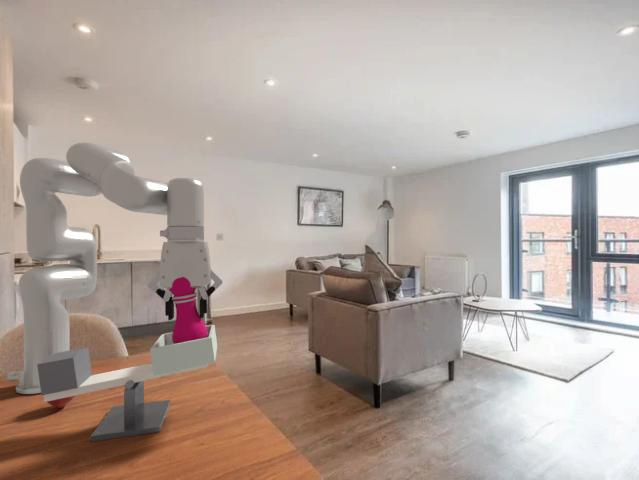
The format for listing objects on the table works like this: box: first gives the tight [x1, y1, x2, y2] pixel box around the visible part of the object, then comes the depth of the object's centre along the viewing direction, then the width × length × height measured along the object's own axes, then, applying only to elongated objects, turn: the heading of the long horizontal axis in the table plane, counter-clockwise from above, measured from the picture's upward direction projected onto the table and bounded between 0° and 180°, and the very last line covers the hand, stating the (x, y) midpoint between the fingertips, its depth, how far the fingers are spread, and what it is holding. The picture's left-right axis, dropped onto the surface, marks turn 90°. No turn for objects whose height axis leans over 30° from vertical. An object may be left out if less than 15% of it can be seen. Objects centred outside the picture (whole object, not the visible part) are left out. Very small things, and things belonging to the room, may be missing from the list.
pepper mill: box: [169, 277, 208, 344], centre depth 73 cm, size 7×7×20 cm
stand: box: [90, 381, 171, 442], centre depth 71 cm, size 12×12×8 cm
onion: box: [46, 395, 76, 409], centre depth 77 cm, size 6×6×8 cm
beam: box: [37, 324, 218, 403], centre depth 71 cm, size 32×12×8 cm, turn 105°
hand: (186, 317), depth 74 cm, fingers open, 5 cm apart
